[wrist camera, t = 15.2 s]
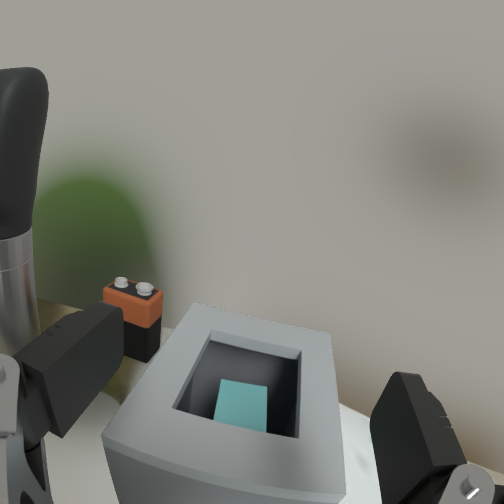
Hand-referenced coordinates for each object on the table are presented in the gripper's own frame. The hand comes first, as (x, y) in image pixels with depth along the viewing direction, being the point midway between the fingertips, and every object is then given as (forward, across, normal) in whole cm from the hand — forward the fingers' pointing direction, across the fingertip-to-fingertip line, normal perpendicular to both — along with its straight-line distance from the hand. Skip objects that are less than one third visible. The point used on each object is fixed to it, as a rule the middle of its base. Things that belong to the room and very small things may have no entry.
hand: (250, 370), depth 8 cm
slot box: (+9, 0, +22) cm, 23 cm away
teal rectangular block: (+9, 0, +20) cm, 23 cm away
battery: (+25, +16, +22) cm, 37 cm away
